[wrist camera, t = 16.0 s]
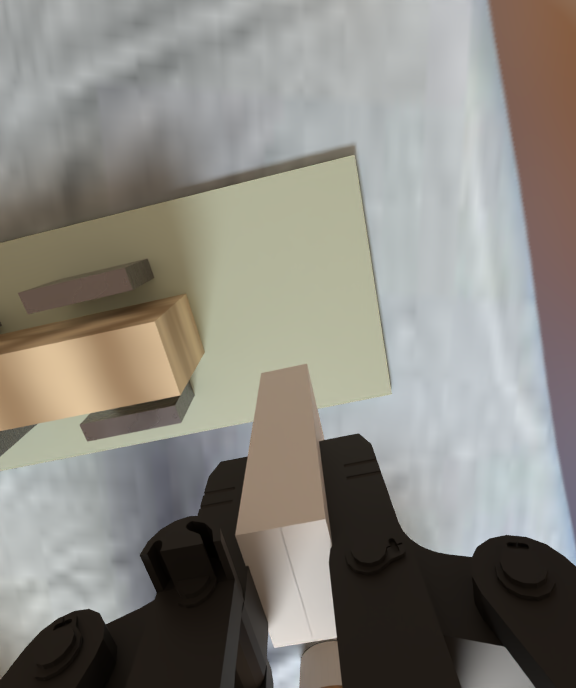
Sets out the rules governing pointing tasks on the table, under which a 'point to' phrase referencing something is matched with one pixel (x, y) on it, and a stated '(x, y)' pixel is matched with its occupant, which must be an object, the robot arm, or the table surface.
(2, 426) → the pine slat
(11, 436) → the end cap
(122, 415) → the open saddle
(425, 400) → the table surface
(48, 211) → the table surface
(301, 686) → the coffee cup
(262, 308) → the sage board
